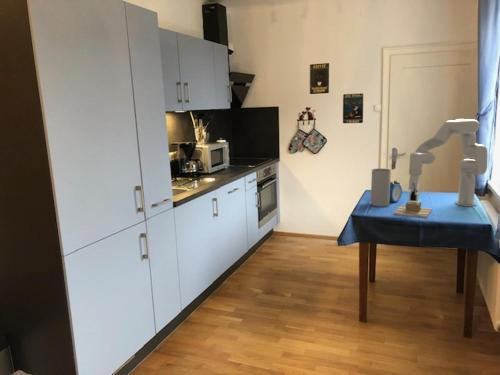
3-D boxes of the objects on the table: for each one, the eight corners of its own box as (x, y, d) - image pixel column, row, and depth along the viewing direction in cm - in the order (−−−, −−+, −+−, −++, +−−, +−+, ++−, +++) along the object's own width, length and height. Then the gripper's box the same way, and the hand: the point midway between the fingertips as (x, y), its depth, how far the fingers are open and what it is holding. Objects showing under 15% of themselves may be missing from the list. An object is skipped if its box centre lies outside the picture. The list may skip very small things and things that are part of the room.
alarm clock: (391, 203, 290) (392, 183, 287) (383, 202, 295) (384, 182, 292) (401, 200, 298) (402, 180, 294) (394, 199, 302) (395, 179, 299)
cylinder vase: (384, 208, 280) (385, 172, 275) (367, 205, 288) (368, 170, 283) (392, 204, 289) (393, 169, 283) (375, 201, 297) (377, 167, 292)
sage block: (410, 199, 269) (410, 192, 268) (418, 200, 267) (419, 192, 266) (409, 201, 265) (409, 193, 264) (417, 201, 263) (417, 194, 262)
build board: (400, 206, 281) (400, 197, 280) (431, 210, 271) (432, 200, 270) (393, 214, 265) (394, 204, 263) (426, 217, 254) (427, 207, 253)
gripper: (411, 169, 271) (410, 196, 275) (406, 173, 257) (405, 201, 261) (423, 170, 267) (422, 197, 271) (419, 174, 253) (417, 202, 257)
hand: (413, 199), depth 266 cm, fingers closed on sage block, 4 cm apart
